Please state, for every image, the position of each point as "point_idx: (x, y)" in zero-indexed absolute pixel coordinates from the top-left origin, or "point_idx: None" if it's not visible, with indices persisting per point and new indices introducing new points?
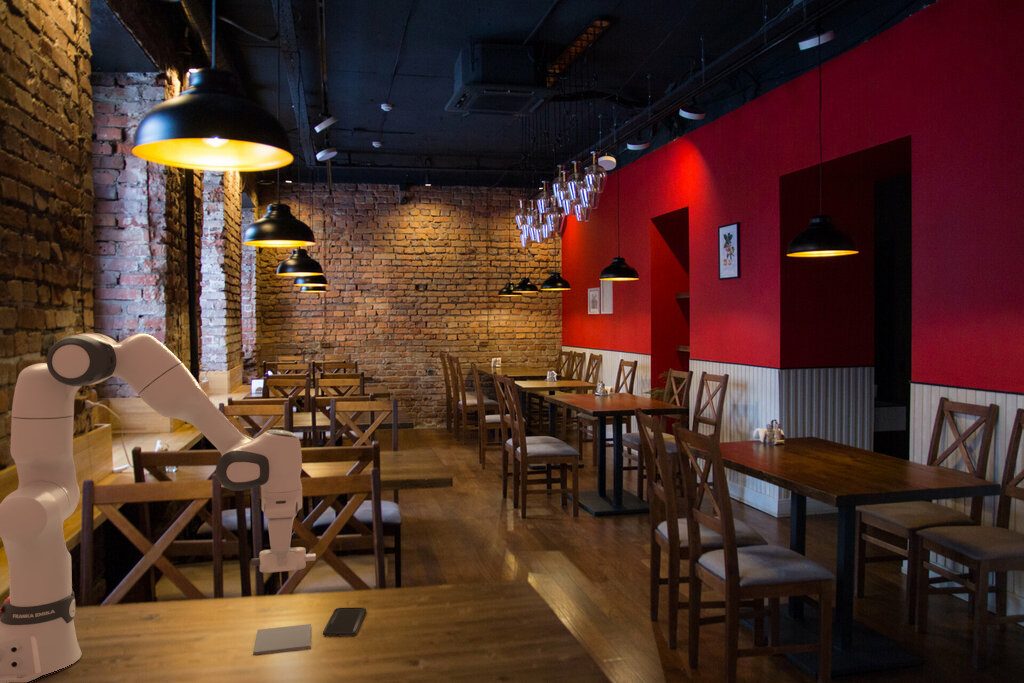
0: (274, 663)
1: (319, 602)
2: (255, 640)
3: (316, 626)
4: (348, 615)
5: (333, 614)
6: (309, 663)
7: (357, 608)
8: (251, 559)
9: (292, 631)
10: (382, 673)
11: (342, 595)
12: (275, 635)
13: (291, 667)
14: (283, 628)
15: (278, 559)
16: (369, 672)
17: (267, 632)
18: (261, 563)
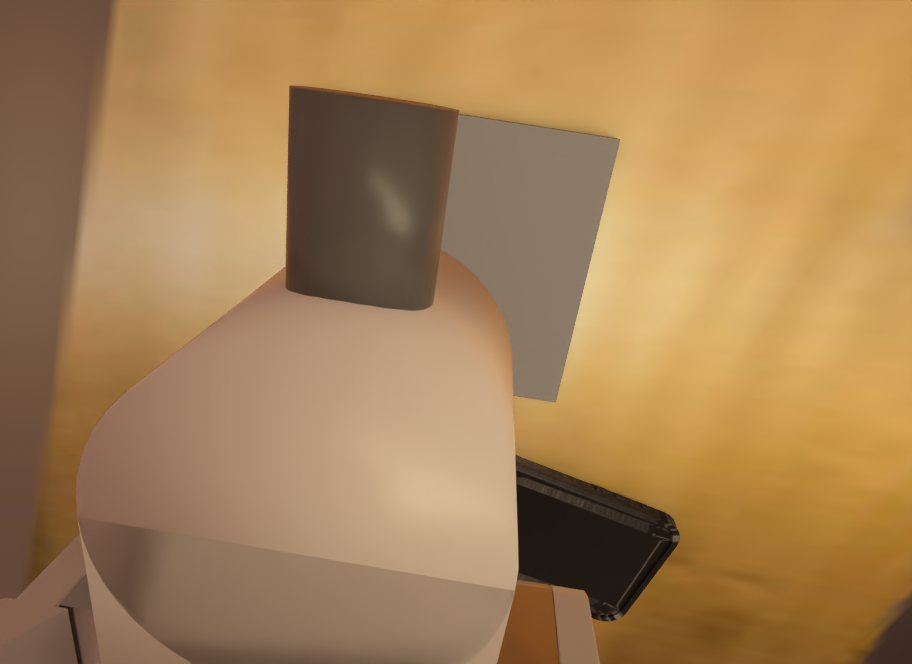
0: (200, 189)
1: (842, 480)
2: (468, 116)
3: (543, 417)
4: (571, 552)
5: (617, 505)
6: (166, 330)
7: (630, 596)
8: (329, 105)
9: (503, 312)
10: (40, 529)
11: (858, 579)
12: (489, 227)
13: (143, 256)
14: (563, 276)
15: (30, 596)
16: (53, 498)
17: (549, 191)
18: (248, 297)
